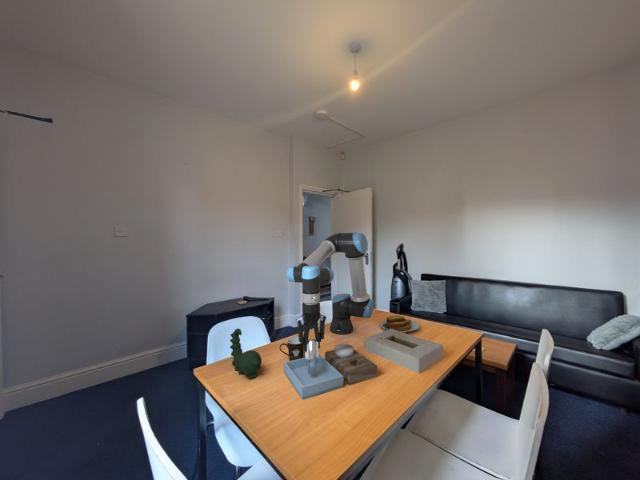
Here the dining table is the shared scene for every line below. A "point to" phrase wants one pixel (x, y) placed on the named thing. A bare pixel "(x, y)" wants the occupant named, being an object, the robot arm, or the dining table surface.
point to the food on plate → (399, 324)
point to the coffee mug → (294, 348)
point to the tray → (312, 377)
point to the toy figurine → (244, 357)
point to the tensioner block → (351, 364)
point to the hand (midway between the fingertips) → (311, 357)
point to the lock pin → (312, 356)
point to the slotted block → (404, 349)
